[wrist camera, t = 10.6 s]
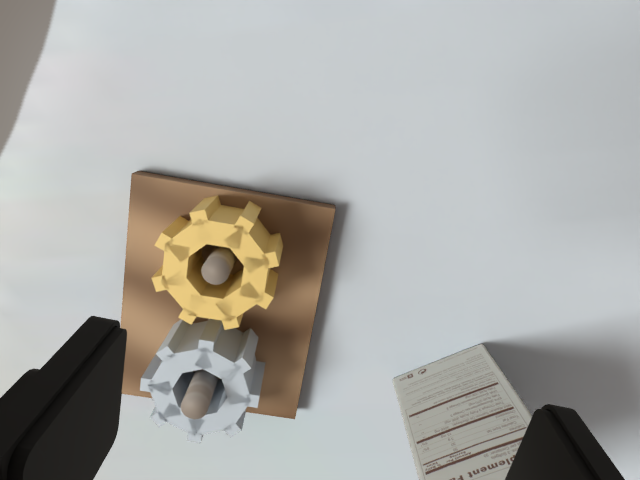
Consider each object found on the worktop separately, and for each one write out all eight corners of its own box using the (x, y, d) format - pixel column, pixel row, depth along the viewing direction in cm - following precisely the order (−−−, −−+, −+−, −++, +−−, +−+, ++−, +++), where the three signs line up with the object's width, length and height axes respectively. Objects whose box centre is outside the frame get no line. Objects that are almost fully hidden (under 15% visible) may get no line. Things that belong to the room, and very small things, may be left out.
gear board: (138, 170, 32) (94, 190, 26) (334, 204, 33) (339, 232, 27) (122, 383, 37) (81, 445, 30) (295, 409, 37) (291, 474, 31)
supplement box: (514, 418, 38) (607, 570, 26) (423, 451, 39) (473, 614, 27) (484, 338, 36) (569, 463, 24) (389, 375, 37) (425, 514, 25)
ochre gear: (177, 188, 31) (158, 201, 28) (289, 207, 32) (285, 223, 28) (167, 292, 33) (147, 317, 30) (272, 308, 34) (267, 336, 30)
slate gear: (147, 324, 34) (126, 354, 30) (249, 303, 34) (240, 331, 30) (178, 412, 36) (162, 450, 32) (274, 393, 36) (269, 429, 32)
